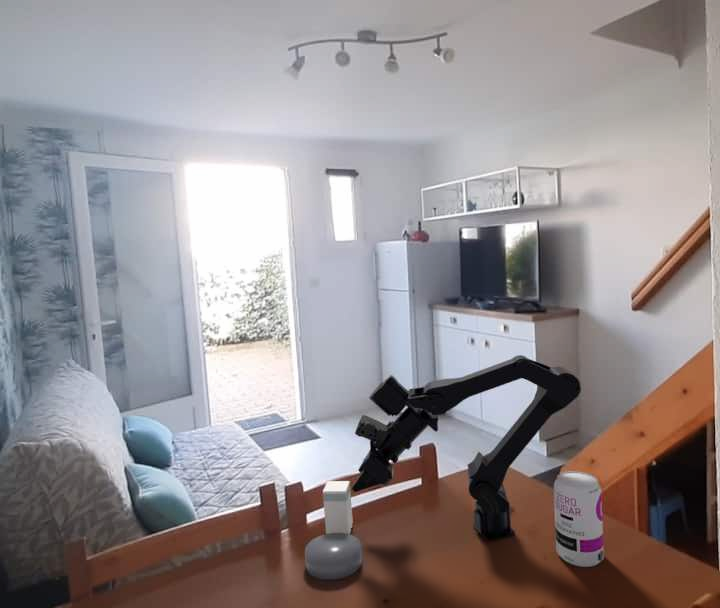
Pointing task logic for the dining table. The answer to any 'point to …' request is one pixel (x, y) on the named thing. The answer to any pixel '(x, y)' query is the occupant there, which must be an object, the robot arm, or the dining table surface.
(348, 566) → the grey dome
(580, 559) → the supplement can
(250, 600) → the dining table surface
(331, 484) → the carton
